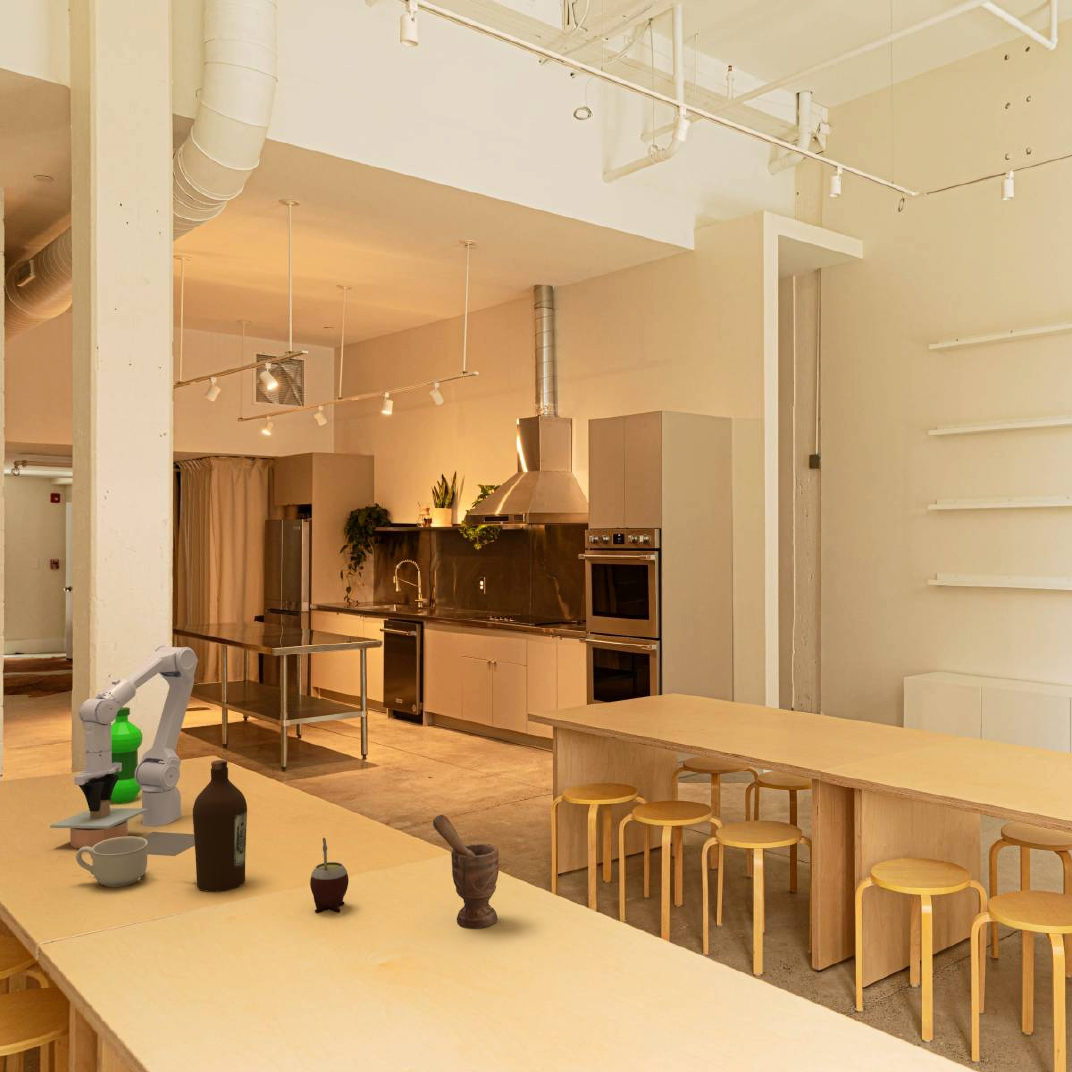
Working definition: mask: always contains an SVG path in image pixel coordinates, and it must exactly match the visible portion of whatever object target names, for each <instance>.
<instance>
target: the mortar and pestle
mask: <svg viewBox="0 0 1072 1072" xmlns="http://www.w3.org/2000/svg"><path fill="white" fill-rule="evenodd" d="M432 825H433V828H434V830H435V831H436V832H437V833H438V834H439V835H440V836H441V837H442V838H443V839H444V840H445V842H447V844H448V845H449V846H450V847H451V848H452V850H451V852H450V853H451V875H452V879H453V884H454V886H455V891H456V894H457V896H458V897H460V898H461V899H462V900H463V903H464V905H463V906H462V908H460V910H459V911H458V914H457V916H456V922H457V925H459V926H460V927H463V928H468V929H478V928H479V929H480V928H486V927H490V926H491V925H493V924H495V923H497V922H498V920H499V918H498V913H497V911H496V910H495V909H494V907H492V905H490V900H491V898H492V896H493V895H494V893H495V892H496V888H497V881H498V876H499V860H500V859H499V856H500V855H499V847H498V846H496V845H494V844H491V843H484V842H481V843H467V844H464V842H463V841H462V839H461V837H460V836H459V834H458V833H457V830H456V829H455V827H454V825H453V824H452V822H451V821H450V820H449V818H448V817H447V816H446V815H444V814H439V815H437V816H436V817H435V818H434V819H433V820H432Z"/></svg>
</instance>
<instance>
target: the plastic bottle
mask: <svg viewBox="0 0 1072 1072" xmlns="http://www.w3.org/2000/svg"><path fill="white" fill-rule="evenodd" d="M130 715H131V707H128V706H127V707H124V706H123V707H121V708H120V709H119V711H118V712H117V715H116V718H115V720H114V721H113V722H112V723H111V748H112V763H122V771H120V772H115V773H113V775H119V779H118V781H117V782H116V784H115V786H114V789H113V792H112V795H111V799H110V802H112V803H114V804H124V803H125V804H126V803H130V802H133V800H134V799H135V798H136V797H137V796H138V795H139V793H140V792H141V791H142V790H141V789H140V785H138V784H137V782H136V781H135V770H136V767H137V766H138V764H139V763H138V762H139V760H138V759H139V756H138V752H139V751H138V749H139V748H140V747H141V745H142V742H143V733H142V730H141V729H140V728H139V727H138V726H136V724H134V723H132V722H131V721H129V716H130Z"/></svg>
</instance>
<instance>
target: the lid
mask: <svg viewBox="0 0 1072 1072" xmlns="http://www.w3.org/2000/svg"><path fill="white" fill-rule="evenodd" d="M110 804H111V803H110ZM110 804H109V800H100V808H99V811H97V812H96V811H90V810H89V809H88V810H86V811H83V812H80V813H78V814H75V815H72V816H70V817H67V818H65V819H63V820H60V821H57V822H55V823H53V824H50V825H49V827H50V828H49V829H70V828H105V829H108V828H111V827H113V826H115V825H117V824H120V823H122V822H124V821H127V820H131V819H133V818H135V817H138V816H139V815H142V814H143V813H145V812H147V811H148V808H142V807H141V808H139V807H137V808H135V807H134V808H133V807H130V808H129V807H128V808H127V807H125V808H123V807H120V808H119V807H116V808H115V807H114V808H111V806H110Z"/></svg>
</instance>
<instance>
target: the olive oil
mask: <svg viewBox="0 0 1072 1072" xmlns="http://www.w3.org/2000/svg"><path fill="white" fill-rule="evenodd" d="M210 766H211V768H210V781H209V783H207V785H206V786H205V787H204V788H203V789H202V791H201V792H200V793H199V794H198V795H197V797H196V798H195V800H194V803H193V807H192V821H193V822H192V824H193V834H194V840H195V846H194V852H195V853H194V854H195V871H196V872H195V873H196V875H195V877H196V887H197V888H198V890H201V891H205V892H212V893H215V892H224V891H225V892H226V891H231V890H234V889H237V888H240V887H241V886H242V885H244V883H245V882H246V856H247V855H246V854H247V853H246V847H247V846H246V845H247V824H248V823H247V821H248V805H247V801H246V798H245V795H244V794H243V792H242V791H241V790H240V789H239V788H238V787H237V786H236V785H234V784H233V782H231V780H229V767H228V760H226V759H218V760H212V761H211V763H210Z"/></svg>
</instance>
